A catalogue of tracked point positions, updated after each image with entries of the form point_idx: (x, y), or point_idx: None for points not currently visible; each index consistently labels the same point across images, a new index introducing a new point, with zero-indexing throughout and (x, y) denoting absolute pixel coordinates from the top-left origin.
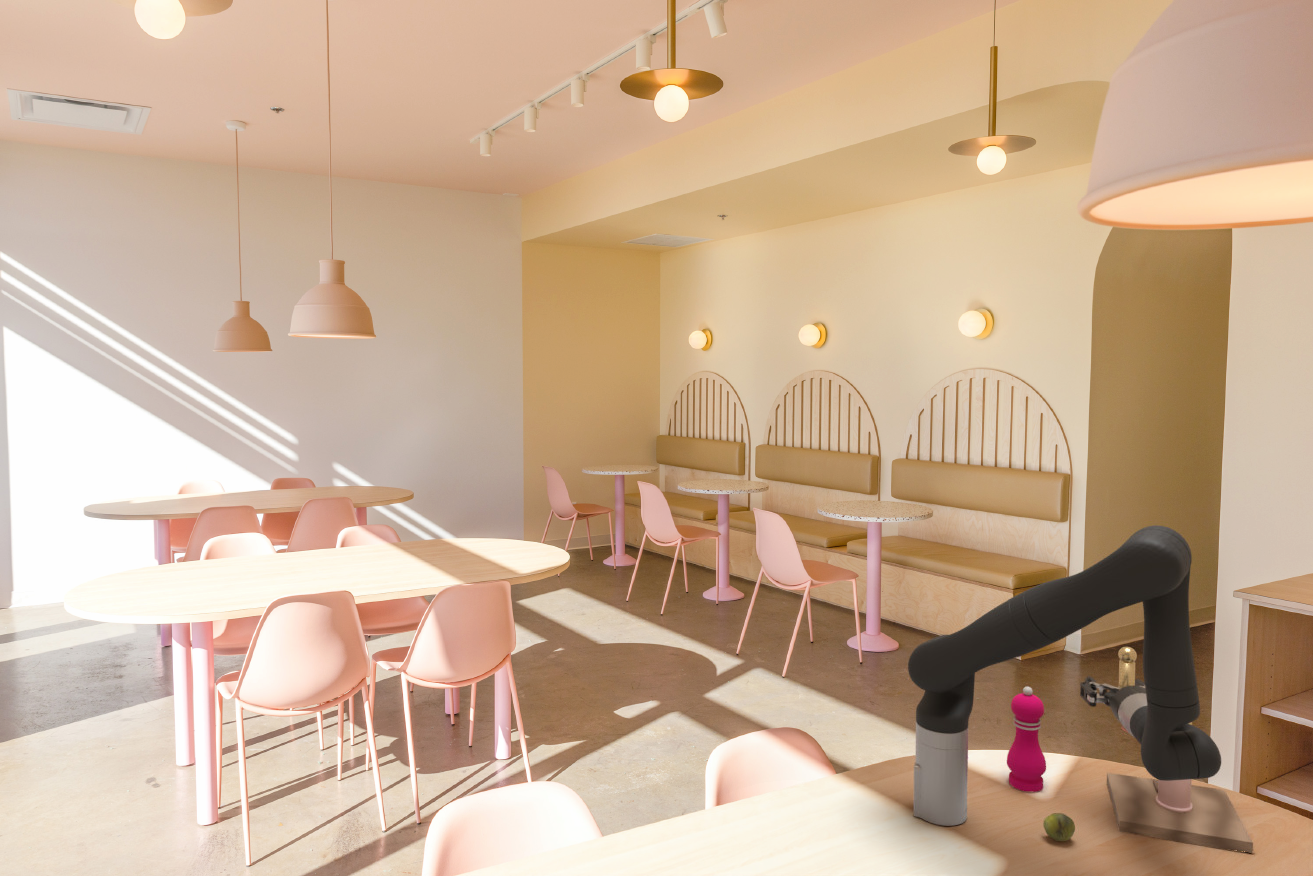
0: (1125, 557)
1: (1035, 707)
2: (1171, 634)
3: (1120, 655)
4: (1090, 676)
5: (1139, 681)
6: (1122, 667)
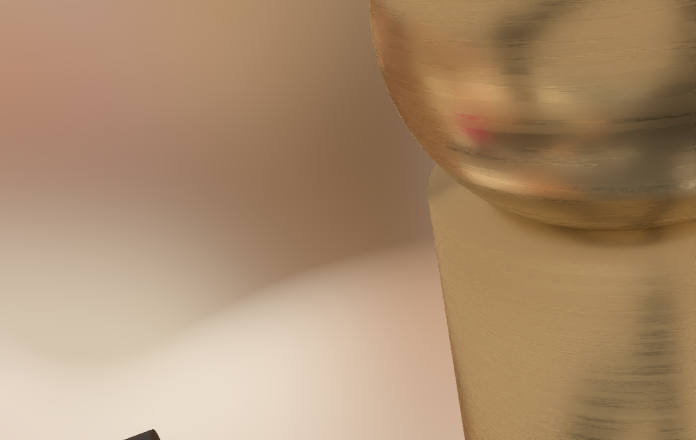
0: None
1: None
2: None
3: (450, 68)
4: (140, 436)
5: None
6: (550, 390)
